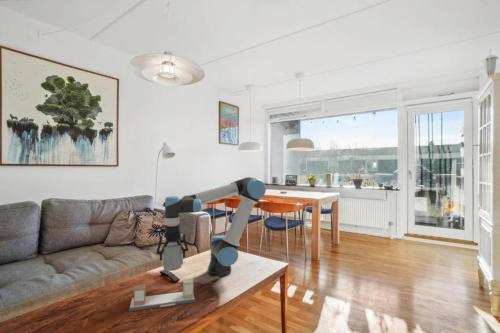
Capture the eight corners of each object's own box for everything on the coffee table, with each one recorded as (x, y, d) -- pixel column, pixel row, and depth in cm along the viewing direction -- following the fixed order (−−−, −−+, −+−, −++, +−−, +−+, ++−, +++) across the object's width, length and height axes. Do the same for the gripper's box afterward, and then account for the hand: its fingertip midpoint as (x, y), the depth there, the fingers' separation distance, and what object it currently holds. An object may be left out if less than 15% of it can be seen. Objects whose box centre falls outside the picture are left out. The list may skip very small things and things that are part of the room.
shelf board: (192, 292, 140) (192, 288, 140) (195, 304, 129) (195, 299, 129) (132, 300, 131) (132, 295, 131) (128, 314, 120) (128, 308, 119)
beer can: (176, 271, 138) (176, 248, 138) (160, 269, 140) (159, 247, 140) (184, 264, 147) (184, 242, 147) (169, 262, 149) (168, 241, 149)
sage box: (192, 293, 137) (192, 278, 136) (193, 297, 133) (193, 282, 132) (182, 295, 135) (183, 279, 135) (183, 299, 131) (183, 283, 131)
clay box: (145, 300, 129) (145, 284, 129) (144, 304, 126) (145, 288, 125) (134, 301, 128) (134, 285, 128) (133, 305, 124) (133, 289, 124)
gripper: (192, 221, 150) (192, 260, 151) (151, 224, 143) (151, 264, 144) (193, 224, 143) (193, 265, 144) (150, 227, 136) (150, 270, 137)
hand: (172, 264), depth 144 cm, fingers closed on beer can, 9 cm apart
